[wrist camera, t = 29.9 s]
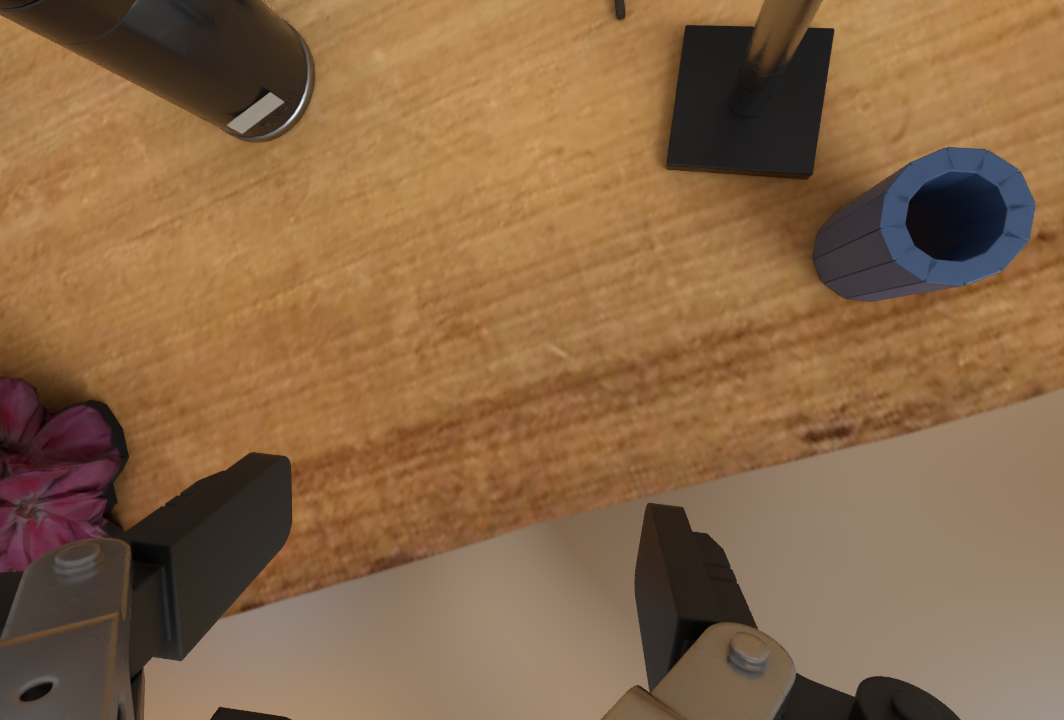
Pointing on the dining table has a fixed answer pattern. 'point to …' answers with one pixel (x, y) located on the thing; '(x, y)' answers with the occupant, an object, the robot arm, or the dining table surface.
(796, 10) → the peg on square base
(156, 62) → the robot arm
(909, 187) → the blue fluted sleeve
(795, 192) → the dining table surface
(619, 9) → the sushi plate
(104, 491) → the flower arrangement
